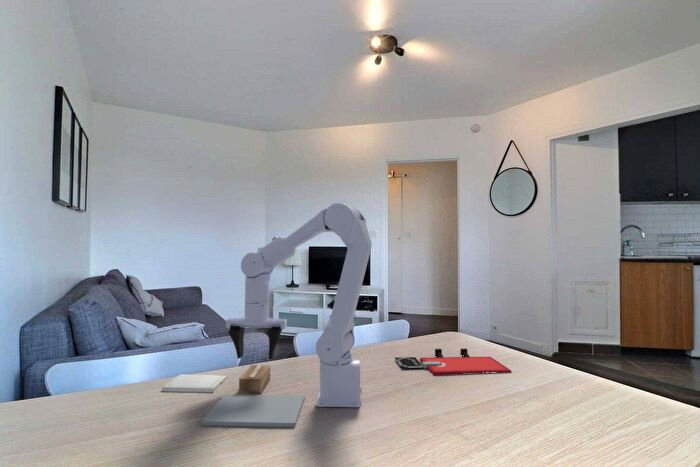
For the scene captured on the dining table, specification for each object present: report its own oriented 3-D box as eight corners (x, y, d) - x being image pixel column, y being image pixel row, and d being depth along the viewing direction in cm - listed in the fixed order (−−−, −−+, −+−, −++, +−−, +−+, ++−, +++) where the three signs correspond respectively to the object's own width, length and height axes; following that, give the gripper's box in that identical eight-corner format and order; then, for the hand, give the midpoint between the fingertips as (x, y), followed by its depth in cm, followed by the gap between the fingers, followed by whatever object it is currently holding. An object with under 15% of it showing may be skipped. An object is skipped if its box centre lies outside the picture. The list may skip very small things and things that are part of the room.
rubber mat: (304, 399, 77) (304, 395, 77) (295, 427, 65) (295, 422, 65) (225, 397, 77) (225, 394, 77) (201, 425, 65) (201, 421, 65)
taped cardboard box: (270, 381, 87) (270, 364, 88) (260, 396, 78) (260, 378, 79) (250, 380, 88) (251, 364, 88) (238, 396, 79) (239, 377, 79)
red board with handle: (392, 358, 106) (406, 377, 91) (393, 349, 106) (406, 367, 91) (484, 357, 109) (511, 375, 94) (484, 348, 109) (511, 365, 94)
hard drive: (162, 386, 80) (214, 387, 80) (180, 373, 89) (227, 374, 88) (162, 393, 80) (214, 394, 80) (180, 380, 89) (227, 380, 88)
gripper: (289, 299, 88) (288, 352, 87) (233, 298, 88) (232, 351, 87) (283, 304, 81) (282, 362, 80) (223, 303, 81) (221, 361, 80)
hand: (255, 357), depth 83 cm, fingers open, 7 cm apart
